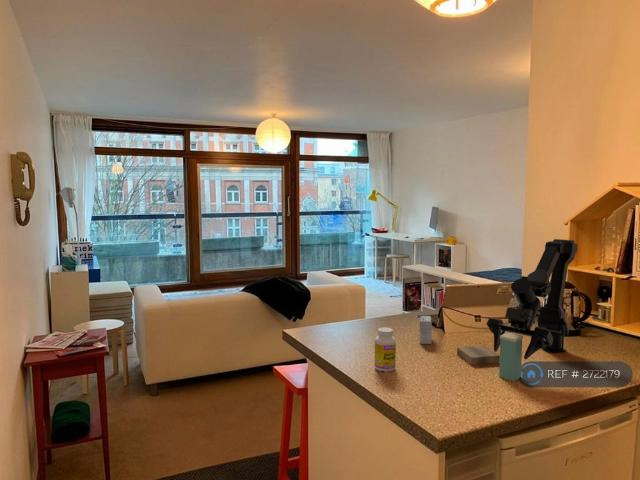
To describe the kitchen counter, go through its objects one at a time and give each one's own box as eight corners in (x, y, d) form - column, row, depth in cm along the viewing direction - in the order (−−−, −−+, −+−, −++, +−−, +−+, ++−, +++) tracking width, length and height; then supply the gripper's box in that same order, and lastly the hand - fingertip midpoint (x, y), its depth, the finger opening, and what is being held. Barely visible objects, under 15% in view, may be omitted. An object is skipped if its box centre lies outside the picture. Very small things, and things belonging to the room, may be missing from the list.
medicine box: (431, 344, 172) (432, 321, 171) (419, 344, 173) (419, 321, 172) (431, 337, 180) (431, 315, 179) (419, 337, 181) (419, 315, 180)
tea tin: (505, 372, 146) (507, 332, 144) (521, 377, 142) (522, 335, 141) (498, 377, 142) (500, 335, 141) (514, 381, 139) (515, 339, 137)
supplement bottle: (382, 374, 146) (382, 334, 144) (370, 367, 152) (370, 328, 150) (399, 370, 149) (400, 330, 147) (387, 363, 155) (387, 325, 153)
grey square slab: (483, 353, 163) (484, 345, 163) (499, 364, 153) (499, 355, 153) (457, 355, 162) (457, 347, 161) (470, 366, 152) (471, 357, 152)
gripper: (490, 292, 149) (471, 333, 143) (551, 302, 136) (534, 348, 130) (500, 312, 156) (483, 352, 149) (560, 323, 142) (544, 368, 136)
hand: (509, 354), depth 141 cm, fingers open, 9 cm apart
